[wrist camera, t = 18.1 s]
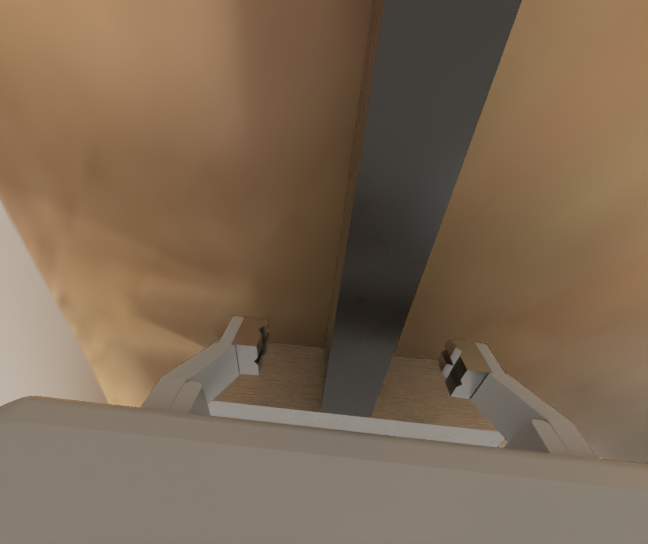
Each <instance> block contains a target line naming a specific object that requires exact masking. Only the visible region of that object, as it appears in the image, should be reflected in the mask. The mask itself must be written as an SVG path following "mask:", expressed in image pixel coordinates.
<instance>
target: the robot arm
mask: <svg viewBox="0 0 648 544" xmlns="http://www.w3.org/2000/svg"><path fill="white" fill-rule="evenodd" d="M268 326H269V325H268V320H265V319H258V318H251V317H241V316H234V317H233V318H232V319H231V321H230V323H229V325H228V326H227V328H226V330H225V332H224V334H223V336H222V337H221V339H220V341H219V343H214V344H212V345H211V346H209V347H208V348H206V349H204V350H203V351H201V352H200V353H198V354H197V355H195V356H193V357H192V358H190V359H189V360H187V361H186V362H184V363H182V364H181V365H179V366H178V367H176V368H175V369H173V370H172V371H170V372H168V373H167V374H165V375H164V376H162V377H161V379H160V380H159V381H158V383H157V384H156V386H155V387H154V389H153V390H152V392H151V393H150V394H149V396H148V397H147V399H146V400H145V402H144V403H143V405H142V406H141V407H140V408H139V407H130V406H121V405H112V404H103V403H94V402H85V401H76V400H67V399H59V398H51V397H42V396H28V397H23V398H20V399H17V400H15V401H12V402H10V403H7V404H5V405H3V406H0V544H648V464H642V463H633V462H624V461H615V460H606V459H599V458H598V457H597V455H596V454H595V453H594V451H593V450H592V449H591V447H590V446H589V445H588V443H587V442H586V441H585V439H584V438H583V437H582V435H581V434H580V433H579V431H578V430H577V429H576V427H575V426H574V424H573V423H572V422H571V421H569V420H568V419H567V418H565V417H564V416H563V415H561V414H560V413H559V412H557V411H556V410H555V409H553V408H552V407H551V406H549V405H548V404H547V403H545V402H544V401H543V400H541V399H540V398H539V397H537V396H536V395H535V394H533V393H532V392H531V391H529V390H528V389H527V388H525V387H524V386H523V385H522V384H520V383H519V382H518V381H516V380H515V379H514V378H512V377H511V376H510V375H505V373H504V371H503V370H502V368H501V367H500V365H499V364H498V362H497V360H496V359H495V357H494V356H493V354H492V353H491V351H490V349H489V348H488V346H487V345H486V344H485V343H478V342H468V341H458V340H449V341H447V343H446V344H445V347H446V350H444V351H443V352H441V354H440V357H439V368H440V371H441V373H442V374H443V375H444V376H445V377H446V378H447V379H446V381H445V384H446V386H447V389H448V392H449V394H450V397H458V398H465V399H470V401H471V402H472V403H473V404H474V405H475V406H476V407H477V408H478V410H479V411H480V412H481V413H482V414H483V415H484V416H485V417H486V418H487V420H488V421H489V422H490V423H491V424H492V425H493V426H494V427H495V428H496V429H497V431H498V432H499V433H500V434H501V435H502V436H503V437H504V438H505V439H506V440H507V442H508V444H507V445H506V446H505V447H504V448H498V447H489V446H480V445H471V444H462V443H453V442H444V441H435V440H426V439H417V438H408V437H399V436H390V435H381V434H372V433H363V432H354V431H345V430H336V429H327V428H318V427H309V426H300V425H291V424H282V423H273V422H264V421H255V420H246V419H237V418H228V417H219V416H211V415H210V411H209V407H208V404H209V403H210V402H211V401H212V400H213V399H214V398H215V397H216V396H217V395H218V394H220V393H221V392H222V391H223V390H224V389H225V388H226V387H227V386H228V385H229V384H230V383H231V382H232V381H233V380H234V379H235V378H236V377H237V376H239V374H250V375H259V373H260V370H261V367H262V364H263V356H264V355H265V354H266V351H267V348H268V343H269V333H268V332H267V329H268Z"/></svg>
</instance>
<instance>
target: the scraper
mask: <svg viewBox="0 0 648 544" xmlns="http://www.w3.org/2000/svg"><path fill="white" fill-rule="evenodd" d="M521 1H522V0H373V5H372V12H371V20H370V27H369V34H368V41H367V49H366V56H365V63H364V70H363V78H362V85H361V92H360V99H359V106H358V114H357V121H356V128H355V135H354V143H353V150H352V157H351V164H350V172H349V179H348V186H347V193H346V201H345V208H344V215H343V222H342V230H341V237H340V244H339V251H338V259H337V266H336V273H335V280H334V288H333V295H332V302H331V309H330V317H329V324H328V331H327V338H326V346H325V348H320V347H311V346H302V345H293V344H284V343H275V342H269V343H268V348H267V351H266V354H265V355H264V356H263V364H262V367H261V370H260V373H259V375H250V374H239V376H237V377H236V378H235V379H234V380H233V381H232V382H231V383H230V384H229V385H228V386H227V387H226V388H225V389H224V390H223V391H222V392H221V393H220V394H218V395H217V396H216V397H215V398H214V399H213V400H212V401H211V402H210V403H209V404H208V407H209V411H210V415H211V416H219V417H228V418H237V419H246V420H255V421H264V422H273V423H282V424H291V425H300V426H309V427H318V428H327V429H336V430H345V431H354V432H363V433H372V434H381V435H390V436H399V437H408V438H417V439H426V440H435V441H444V442H453V443H462V444H471V445H480V446H489V447H498V446H499V445H500V444H501V443H502V442H503V441H504V440H505V438H504V437H503V436H502V435H501V434H500V433H499V432H498V431H497V429H496V428H495V427H494V426H493V425H492V424H491V423H490V422H489V421H488V420H487V418H486V417H485V416H484V415H483V414H482V413H481V412H480V411H479V410H478V408H477V407H476V406H475V405H474V404H473V403H472V402H471V401H470V399H465V398H458V397H450V394H449V392H448V389H447V386H446V384H445V381H446V379H447V378H446V377H445V376H444V375H443V374H442V373H441V371H440V368H439V360H430V359H421V358H412V357H403V356H393V354H394V351H395V349H396V346H397V343H398V340H399V338H400V335H401V332H402V329H403V326H404V324H405V321H406V318H407V315H408V313H409V310H410V307H411V304H412V302H413V299H414V296H415V293H416V291H417V288H418V285H419V282H420V280H421V277H422V274H423V271H424V269H425V266H426V263H427V260H428V258H429V255H430V252H431V249H432V247H433V244H434V241H435V238H436V235H437V233H438V230H439V227H440V224H441V222H442V219H443V216H444V213H445V211H446V208H447V205H448V202H449V200H450V197H451V194H452V191H453V189H454V186H455V183H456V180H457V178H458V175H459V172H460V169H461V167H462V164H463V161H464V158H465V156H466V153H467V150H468V147H469V145H470V142H471V139H472V136H473V133H474V131H475V128H476V125H477V122H478V120H479V117H480V114H481V111H482V109H483V106H484V103H485V100H486V98H487V95H488V92H489V89H490V87H491V84H492V81H493V78H494V76H495V73H496V70H497V67H498V65H499V62H500V59H501V56H502V54H503V51H504V48H505V45H506V42H507V40H508V37H509V34H510V31H511V29H512V26H513V23H514V20H515V18H516V15H517V12H518V9H519V7H520V4H521ZM220 339H221V337H220V336H215V337H214V339H213V340H212V342H211V344H210V346H211V345H212V344H214V343H219V341H220Z"/></svg>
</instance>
